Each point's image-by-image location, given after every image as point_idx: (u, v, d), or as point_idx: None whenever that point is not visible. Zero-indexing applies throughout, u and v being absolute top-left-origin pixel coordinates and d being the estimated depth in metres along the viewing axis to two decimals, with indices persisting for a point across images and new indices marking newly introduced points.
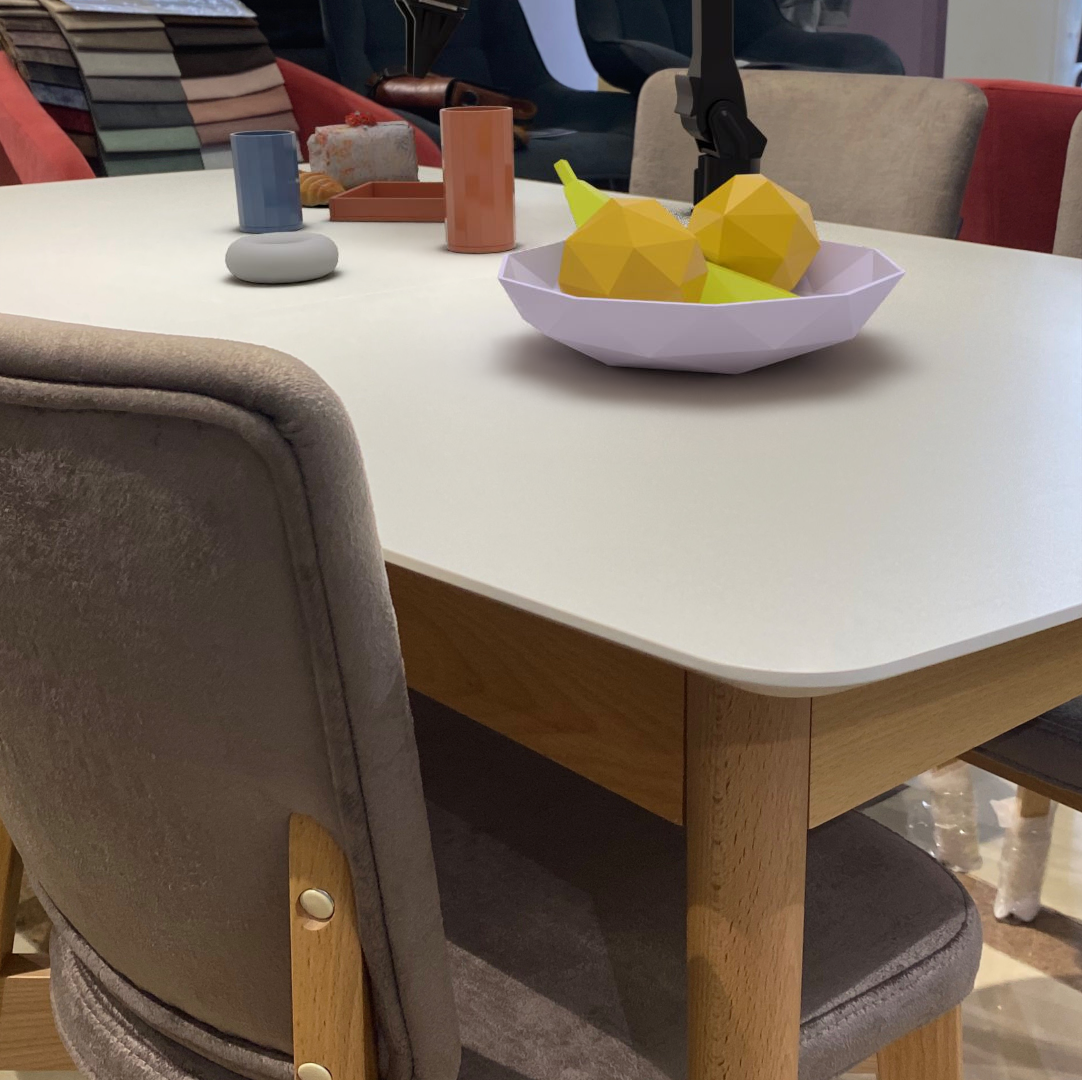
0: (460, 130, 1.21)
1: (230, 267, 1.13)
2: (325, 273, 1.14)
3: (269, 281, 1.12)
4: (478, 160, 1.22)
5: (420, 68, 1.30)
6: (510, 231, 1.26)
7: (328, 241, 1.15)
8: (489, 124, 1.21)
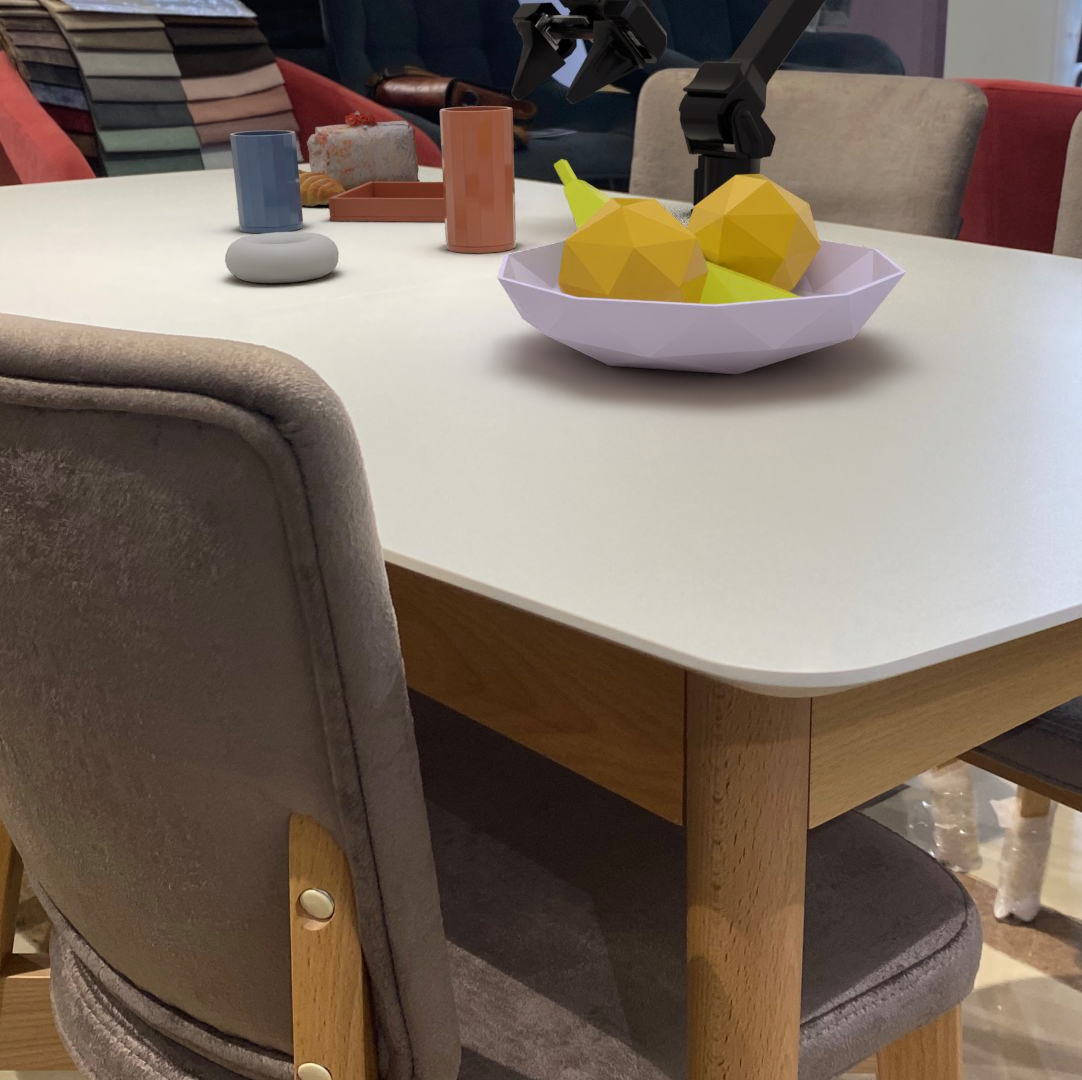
0: (460, 130, 1.21)
1: (230, 267, 1.13)
2: (325, 273, 1.14)
3: (269, 281, 1.12)
4: (478, 160, 1.22)
5: (577, 92, 1.24)
6: (510, 231, 1.26)
7: (328, 241, 1.15)
8: (489, 124, 1.21)
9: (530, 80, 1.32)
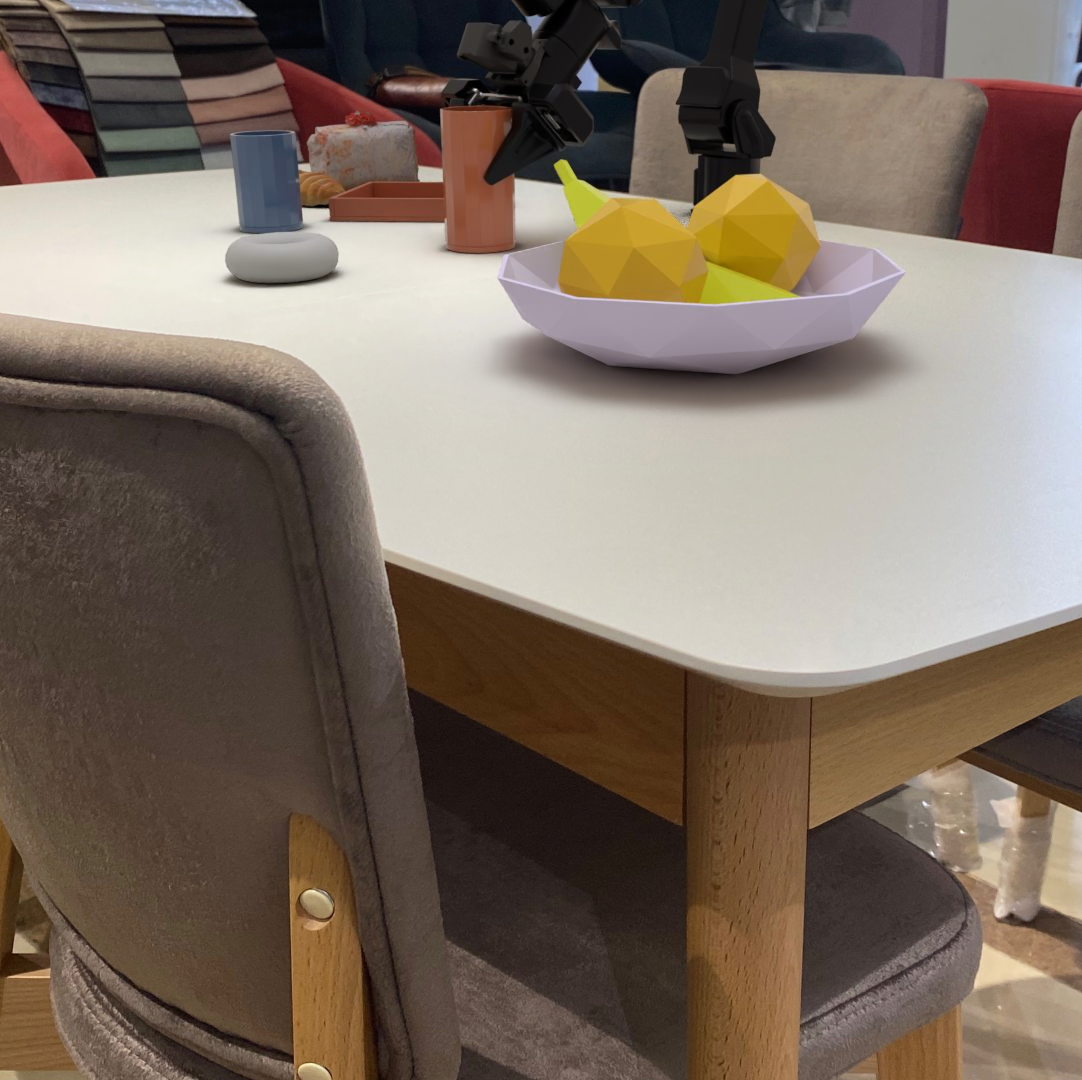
0: (460, 130, 1.21)
1: (230, 267, 1.13)
2: (325, 273, 1.14)
3: (269, 281, 1.12)
4: (478, 160, 1.22)
5: (495, 174, 1.22)
6: (509, 231, 1.26)
7: (328, 241, 1.15)
8: (489, 124, 1.21)
9: None
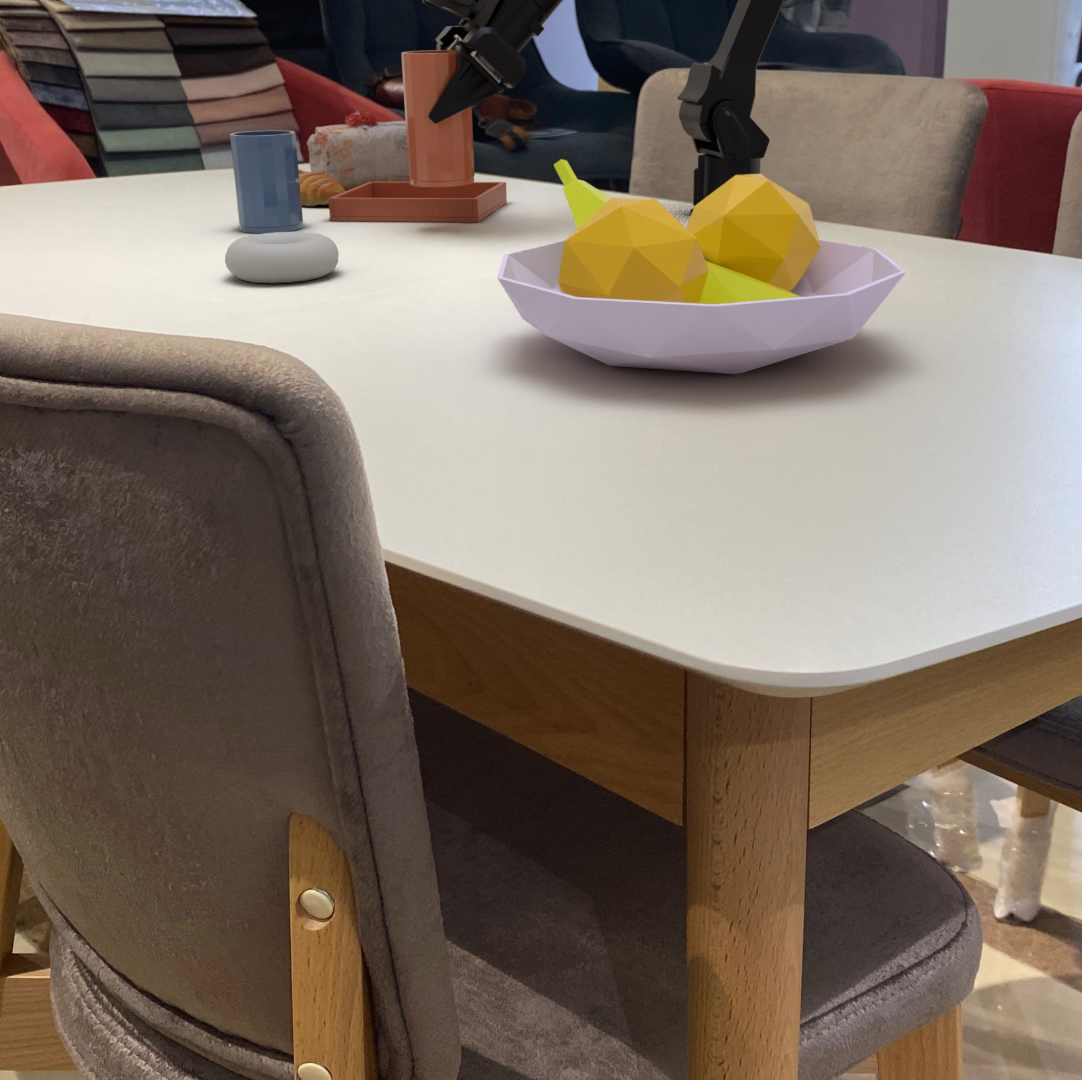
0: (410, 71, 1.31)
1: (230, 267, 1.13)
2: (325, 273, 1.14)
3: (269, 281, 1.12)
4: (424, 99, 1.31)
5: (438, 113, 1.31)
6: (459, 168, 1.34)
7: (328, 241, 1.15)
8: (433, 66, 1.30)
9: None
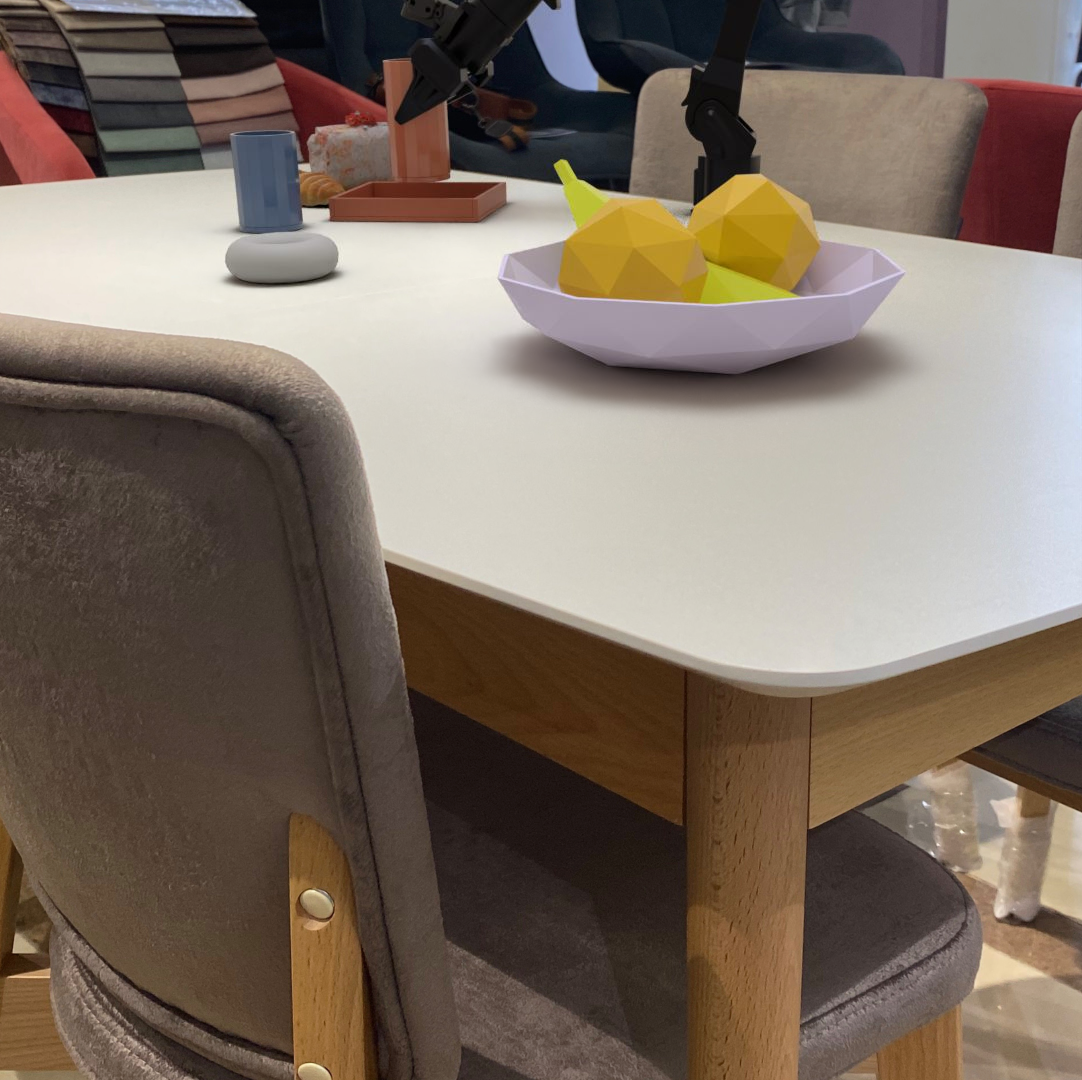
0: (384, 77, 1.45)
1: (230, 267, 1.13)
2: (325, 273, 1.14)
3: (269, 281, 1.12)
4: (393, 103, 1.45)
5: (401, 115, 1.44)
6: (425, 166, 1.47)
7: (328, 241, 1.15)
8: (399, 73, 1.43)
9: None
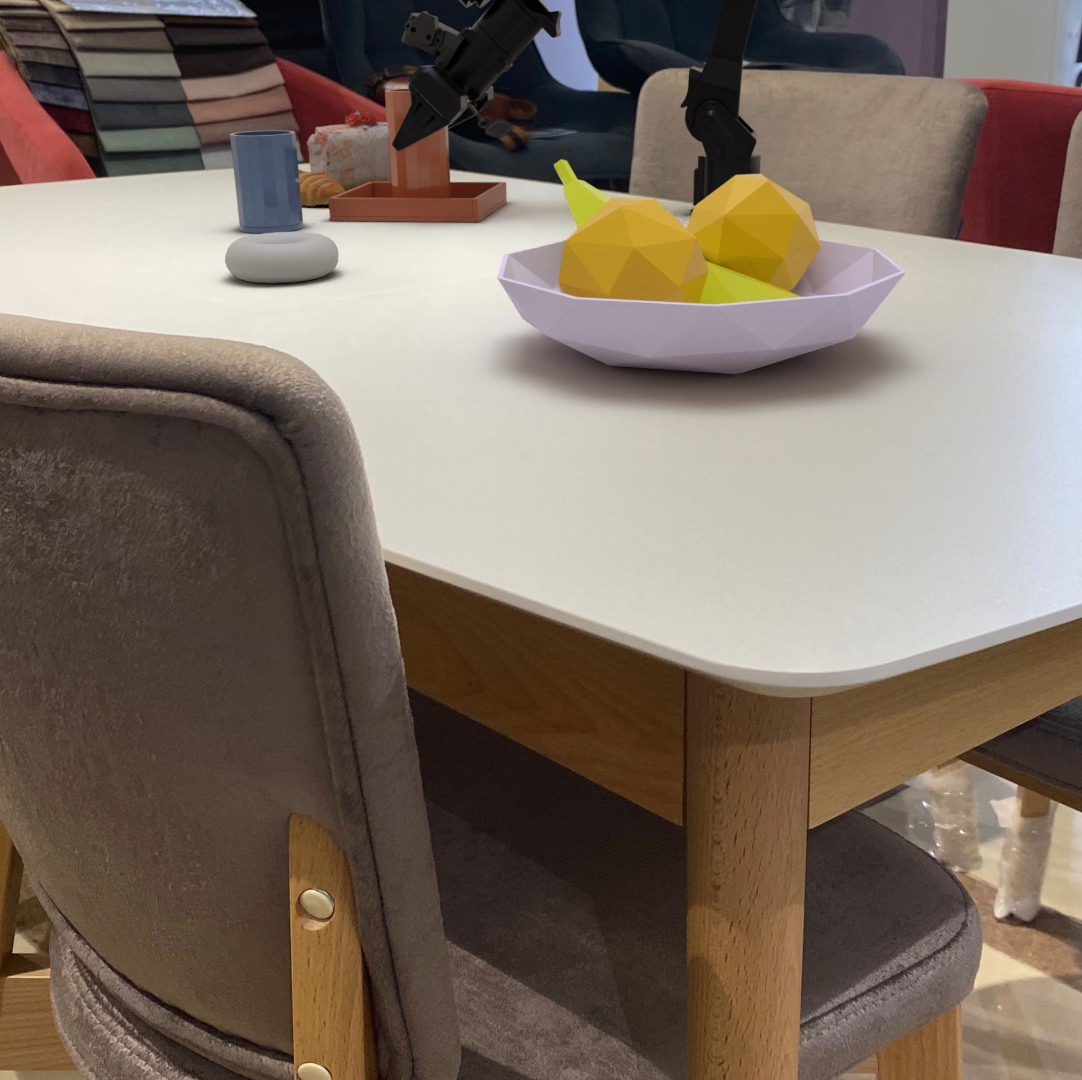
0: (387, 106, 1.46)
1: (230, 267, 1.13)
2: (325, 273, 1.14)
3: (269, 281, 1.12)
4: (395, 132, 1.46)
5: (399, 141, 1.44)
6: (426, 195, 1.48)
7: (328, 241, 1.15)
8: (401, 103, 1.44)
9: None
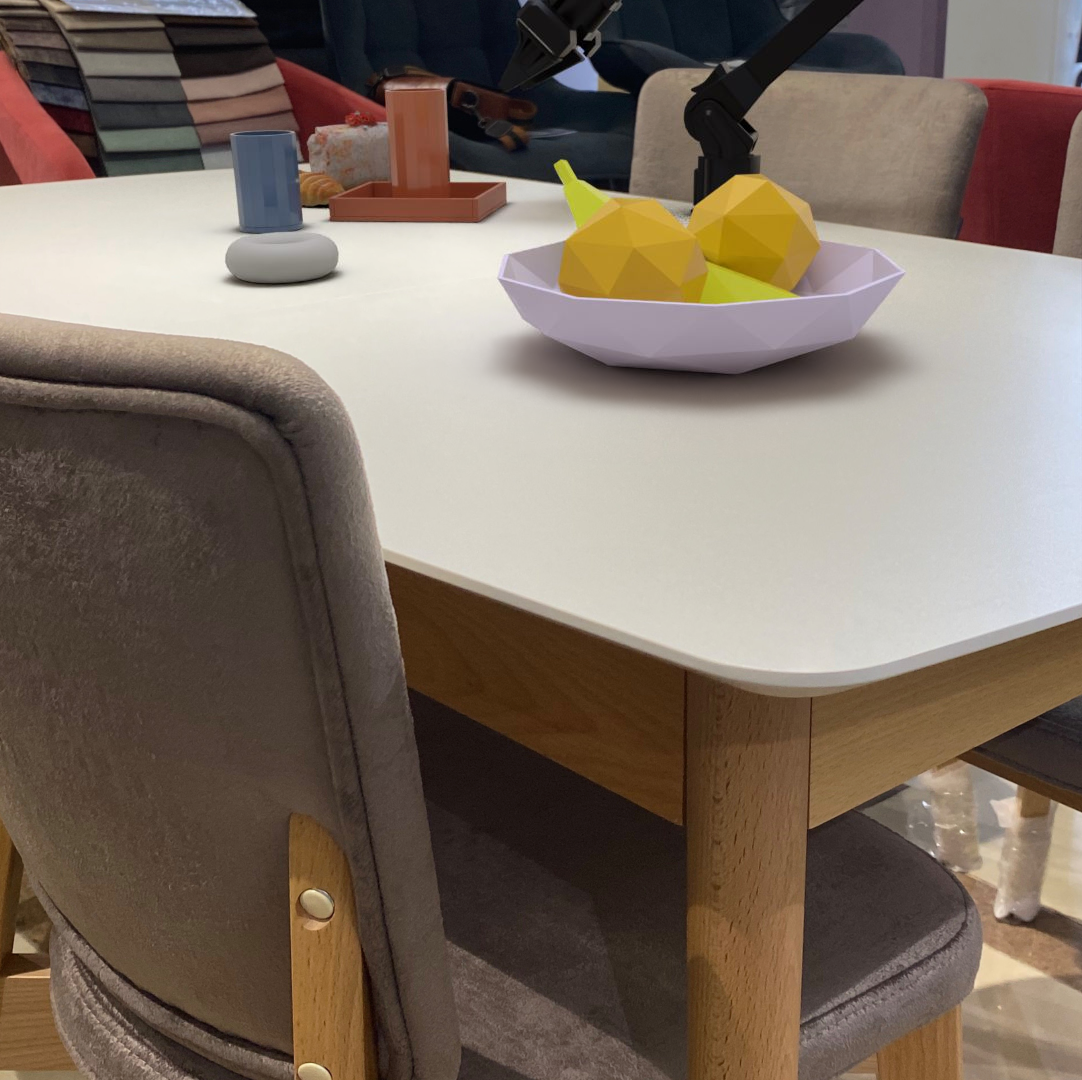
0: (387, 106, 1.46)
1: (230, 267, 1.13)
2: (325, 273, 1.14)
3: (269, 281, 1.12)
4: (395, 132, 1.46)
5: (506, 82, 1.41)
6: (426, 195, 1.48)
7: (328, 241, 1.15)
8: (401, 103, 1.44)
9: (537, 73, 1.49)
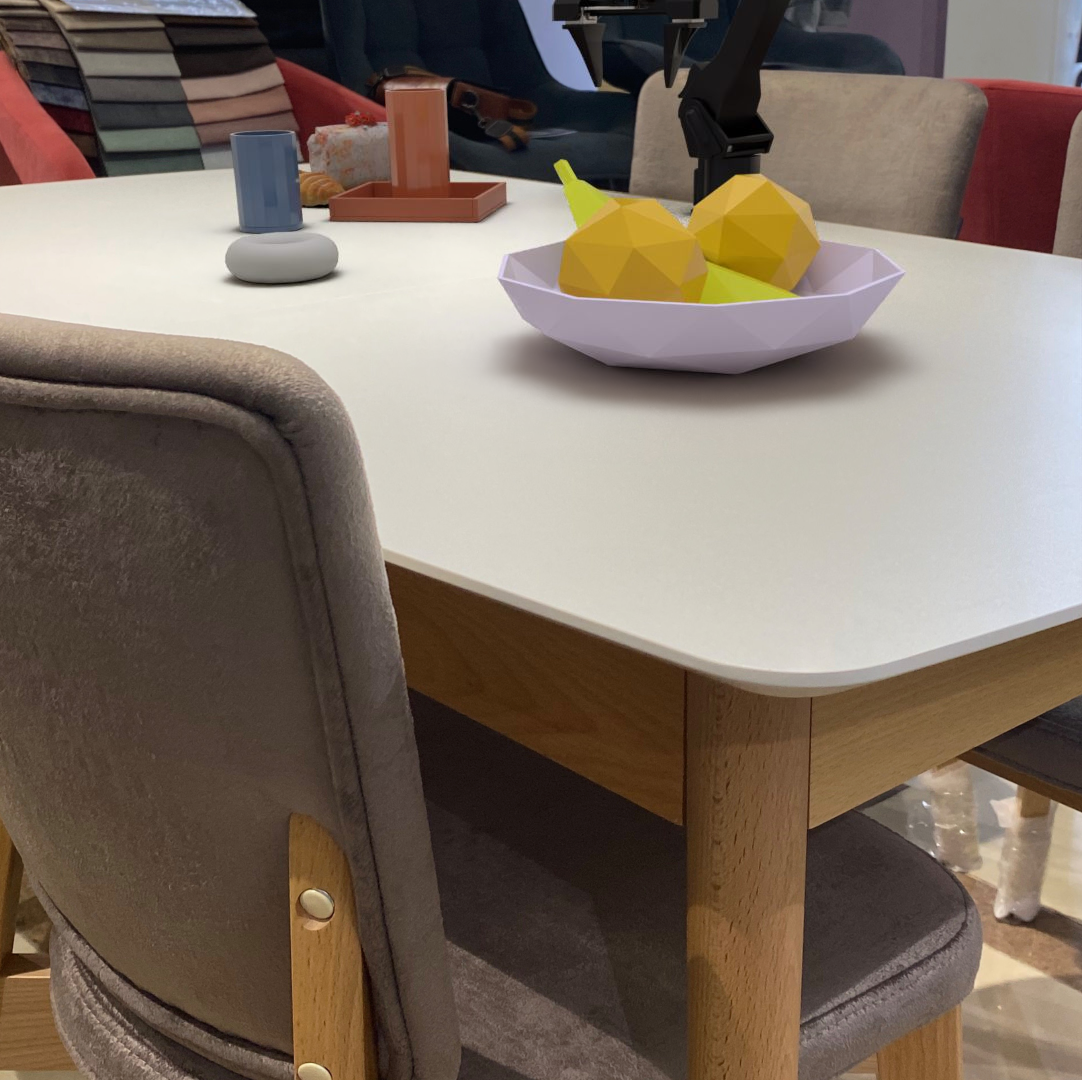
0: (387, 106, 1.46)
1: (230, 267, 1.13)
2: (325, 273, 1.14)
3: (269, 281, 1.12)
4: (395, 132, 1.46)
5: None
6: (426, 195, 1.48)
7: (328, 241, 1.15)
8: (401, 103, 1.44)
9: None
